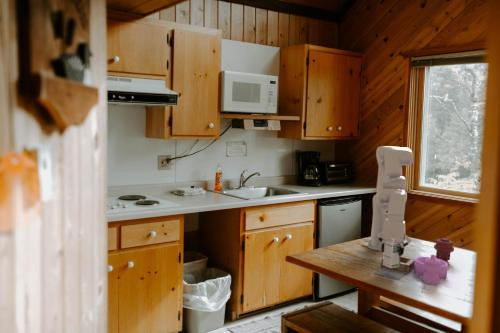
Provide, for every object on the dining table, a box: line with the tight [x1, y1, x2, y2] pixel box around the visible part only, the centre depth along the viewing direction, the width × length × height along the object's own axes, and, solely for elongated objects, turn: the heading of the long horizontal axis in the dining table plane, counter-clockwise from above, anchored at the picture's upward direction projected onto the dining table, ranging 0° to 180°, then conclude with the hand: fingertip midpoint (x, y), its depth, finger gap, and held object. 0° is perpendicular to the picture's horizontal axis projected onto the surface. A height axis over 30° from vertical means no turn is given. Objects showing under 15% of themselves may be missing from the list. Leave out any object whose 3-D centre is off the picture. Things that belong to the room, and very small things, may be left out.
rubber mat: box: [373, 267, 407, 281], centre depth 235 cm, size 12×12×1 cm
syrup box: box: [382, 238, 401, 268], centre depth 234 cm, size 6×6×14 cm
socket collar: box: [380, 255, 415, 274], centre depth 247 cm, size 14×14×4 cm
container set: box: [413, 254, 449, 286], centre depth 234 cm, size 25×15×13 cm, turn 161°
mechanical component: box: [433, 237, 455, 263], centre depth 260 cm, size 12×10×10 cm
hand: (392, 253), depth 234 cm, fingers closed on syrup box, 7 cm apart
